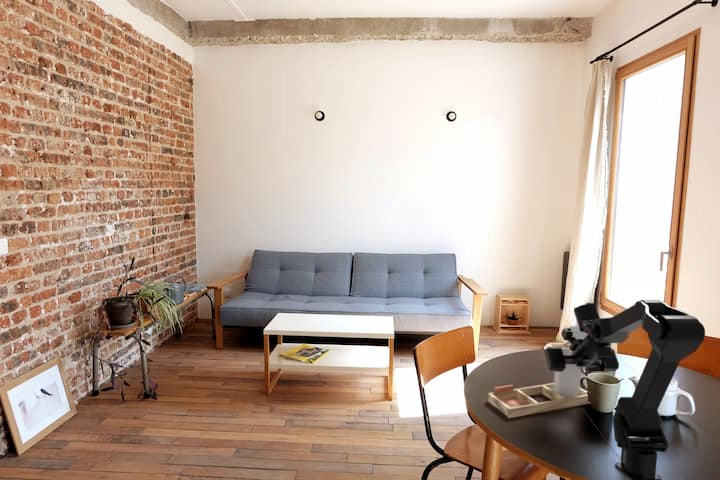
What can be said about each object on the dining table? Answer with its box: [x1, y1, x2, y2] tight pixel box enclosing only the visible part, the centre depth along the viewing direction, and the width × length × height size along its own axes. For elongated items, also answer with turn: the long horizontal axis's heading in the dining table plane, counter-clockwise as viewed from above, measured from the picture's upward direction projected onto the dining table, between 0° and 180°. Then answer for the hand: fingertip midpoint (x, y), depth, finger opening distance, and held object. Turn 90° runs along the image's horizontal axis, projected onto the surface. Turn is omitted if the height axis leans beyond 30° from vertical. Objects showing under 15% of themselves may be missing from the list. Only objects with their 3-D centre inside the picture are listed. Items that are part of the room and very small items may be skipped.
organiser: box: [487, 382, 592, 419], centre depth 131 cm, size 10×29×4 cm, turn 108°
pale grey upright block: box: [553, 365, 582, 398], centre depth 134 cm, size 4×6×12 cm, turn 89°
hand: (570, 370), depth 132 cm, fingers open, 9 cm apart
